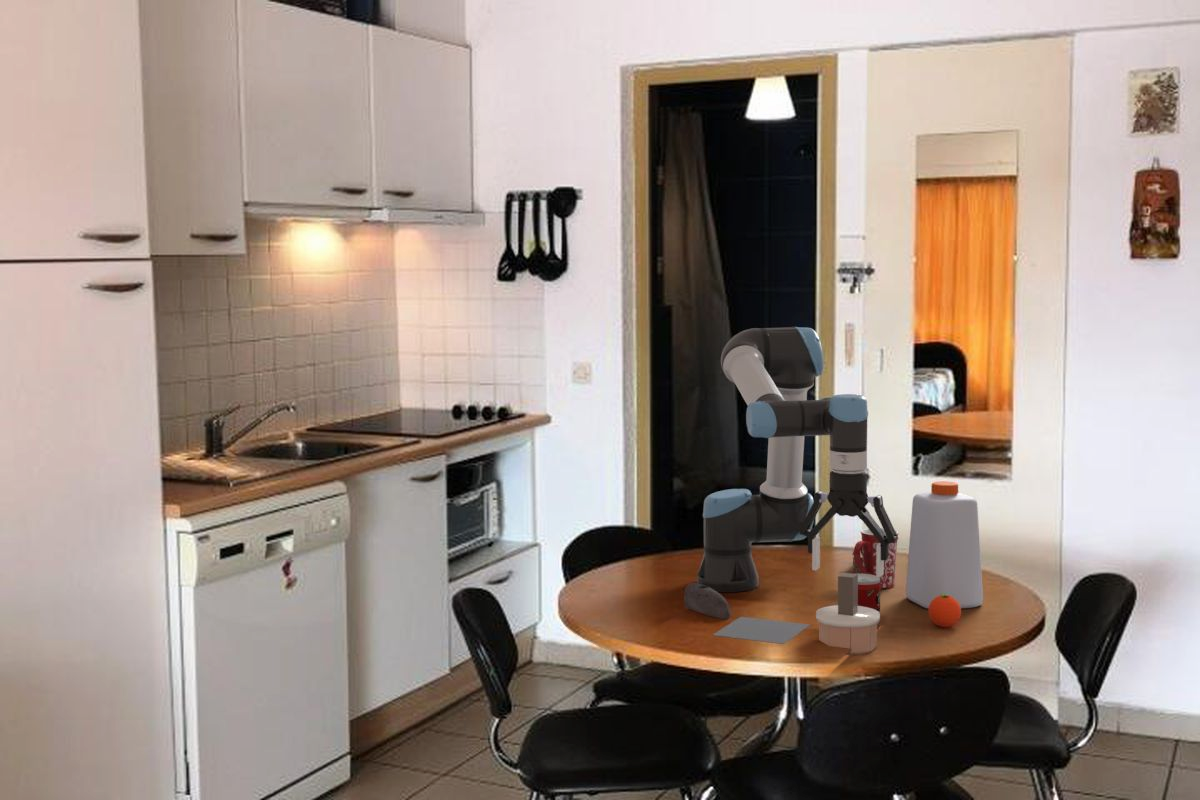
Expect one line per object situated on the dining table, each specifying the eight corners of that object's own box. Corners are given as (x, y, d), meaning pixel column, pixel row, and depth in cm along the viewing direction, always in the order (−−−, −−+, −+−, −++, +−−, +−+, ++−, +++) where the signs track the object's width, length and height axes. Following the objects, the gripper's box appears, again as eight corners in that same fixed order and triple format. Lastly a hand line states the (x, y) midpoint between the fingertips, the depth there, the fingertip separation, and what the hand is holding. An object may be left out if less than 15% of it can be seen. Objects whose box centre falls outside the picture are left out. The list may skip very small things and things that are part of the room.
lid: (807, 623, 281) (807, 579, 280) (827, 608, 292) (827, 565, 291) (869, 630, 275) (869, 585, 274) (887, 614, 286) (887, 571, 285)
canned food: (872, 633, 294) (872, 583, 293) (837, 628, 298) (837, 579, 297) (885, 625, 300) (885, 575, 299) (851, 620, 305) (851, 571, 303)
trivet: (712, 641, 290) (712, 634, 290) (741, 623, 304) (741, 616, 304) (784, 650, 282) (784, 643, 282) (810, 631, 296) (810, 624, 296)
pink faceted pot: (813, 650, 282) (813, 622, 281) (830, 637, 292) (830, 609, 291) (866, 657, 277) (866, 628, 276) (881, 643, 287) (881, 615, 286)
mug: (879, 579, 342) (879, 526, 340) (906, 586, 334) (906, 531, 333) (841, 586, 335) (841, 532, 334) (868, 594, 327) (868, 538, 326)
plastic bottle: (928, 612, 310) (929, 490, 307) (899, 596, 324) (900, 479, 321) (989, 607, 313) (991, 486, 310) (957, 592, 328) (959, 476, 325)
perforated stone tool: (738, 624, 303) (737, 593, 302) (718, 628, 301) (717, 597, 300) (701, 609, 316) (701, 580, 316) (681, 613, 314) (681, 583, 313)
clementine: (924, 621, 303) (924, 589, 302) (956, 620, 303) (956, 589, 302) (931, 631, 295) (932, 598, 294) (964, 630, 295) (964, 598, 294)
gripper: (784, 469, 283) (784, 570, 285) (903, 477, 271) (902, 582, 274) (796, 463, 289) (796, 562, 292) (913, 471, 278) (912, 574, 280)
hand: (847, 572), depth 283 cm, fingers open, 13 cm apart
